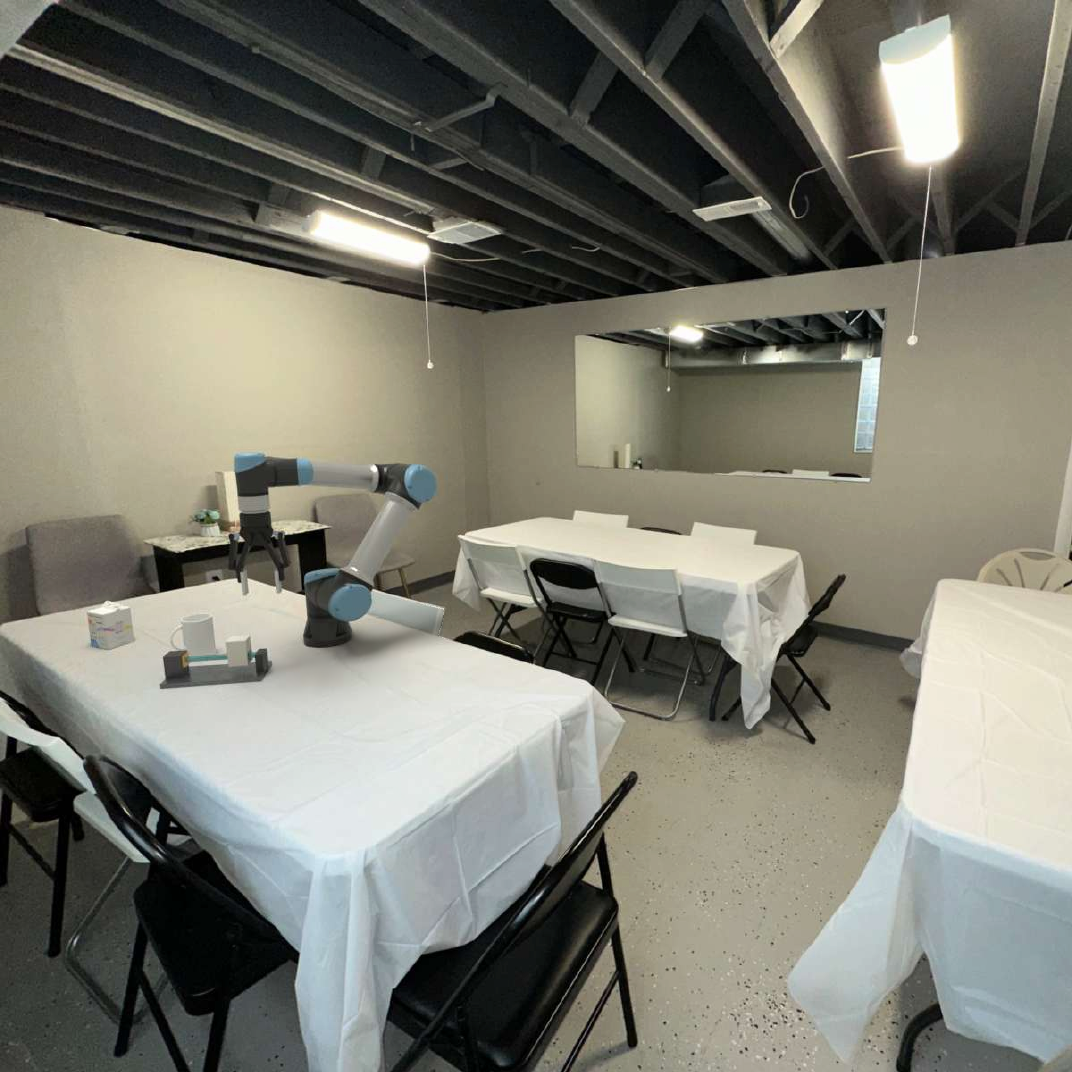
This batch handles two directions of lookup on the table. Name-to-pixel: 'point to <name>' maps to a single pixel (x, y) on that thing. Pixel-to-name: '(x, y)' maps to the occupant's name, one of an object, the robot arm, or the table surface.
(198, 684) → the glowing rod on plate
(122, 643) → the ink box
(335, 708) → the table surface
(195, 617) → the mug
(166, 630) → the table surface
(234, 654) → the sleeve
